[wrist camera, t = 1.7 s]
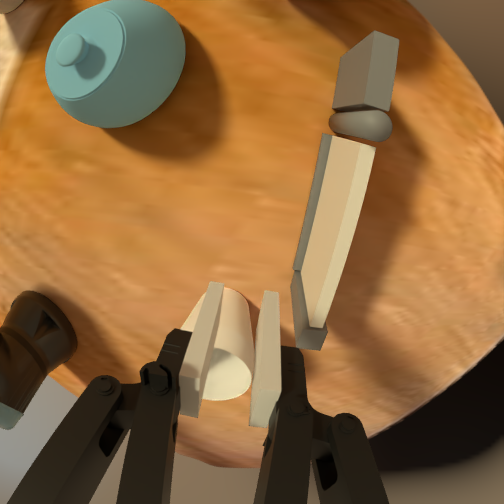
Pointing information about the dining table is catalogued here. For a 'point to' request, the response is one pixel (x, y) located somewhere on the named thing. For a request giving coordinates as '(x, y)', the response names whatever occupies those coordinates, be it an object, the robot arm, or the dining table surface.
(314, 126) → the dining table surface
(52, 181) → the dining table surface
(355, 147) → the curved cream plank
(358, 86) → the grey u-shaped bar
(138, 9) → the sugar bowl
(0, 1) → the potted plant
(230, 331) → the cup
